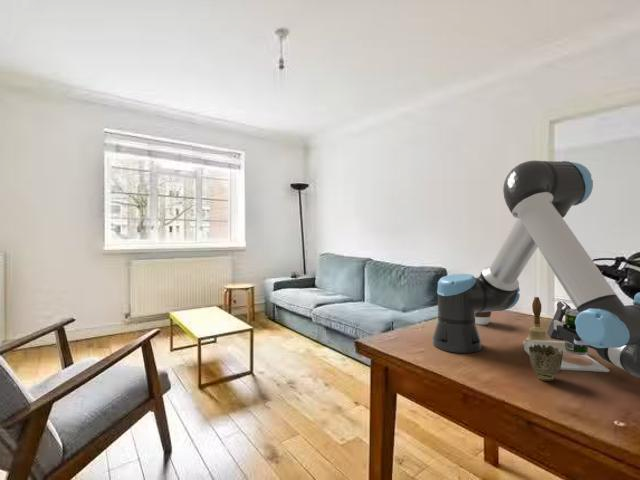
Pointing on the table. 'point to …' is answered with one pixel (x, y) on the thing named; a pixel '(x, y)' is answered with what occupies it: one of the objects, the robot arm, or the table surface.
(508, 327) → the table surface
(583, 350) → the beer can
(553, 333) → the phone stand
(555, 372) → the cup
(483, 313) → the coffee cup
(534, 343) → the tray
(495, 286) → the robot arm
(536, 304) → the hand bell
